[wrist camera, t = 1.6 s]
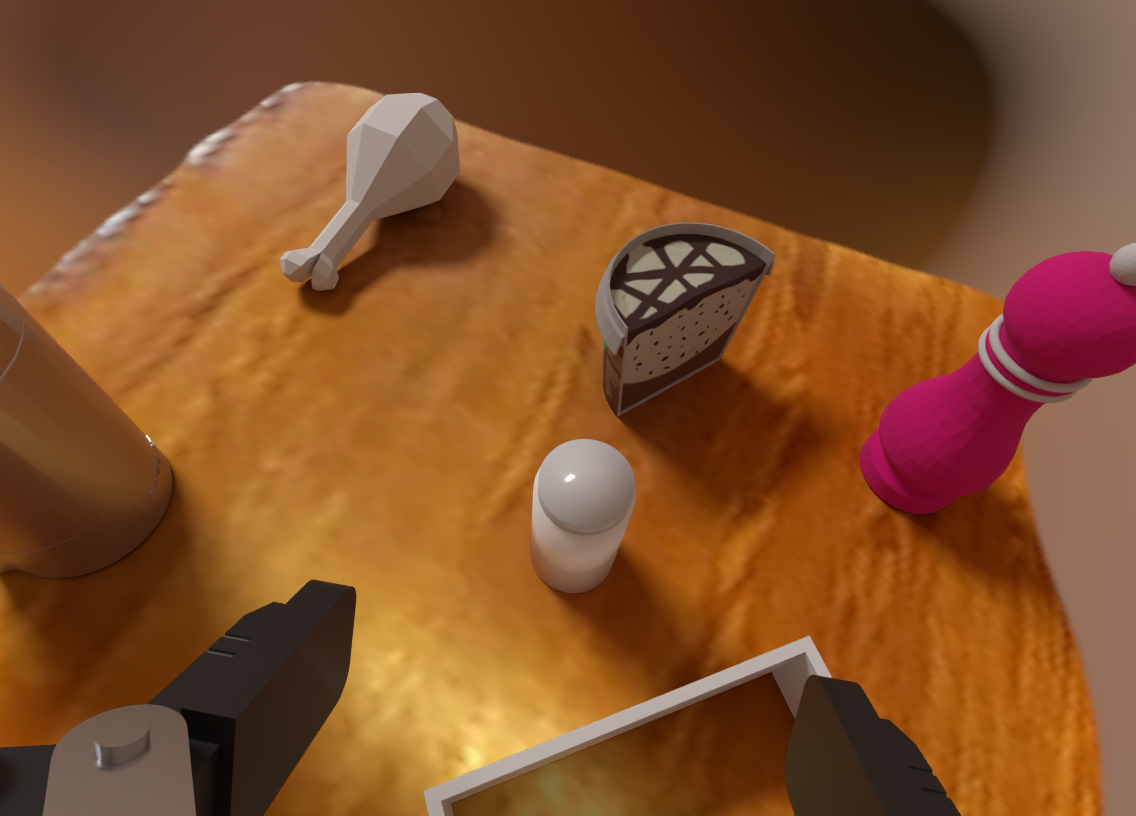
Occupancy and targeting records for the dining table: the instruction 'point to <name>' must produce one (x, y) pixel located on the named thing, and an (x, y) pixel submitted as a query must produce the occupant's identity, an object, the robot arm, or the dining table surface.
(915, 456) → the pepper mill
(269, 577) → the dining table surface
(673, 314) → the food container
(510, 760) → the grey square frame
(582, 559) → the sugar shaker
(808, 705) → the robot arm
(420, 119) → the chicken leg
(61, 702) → the dining table surface
